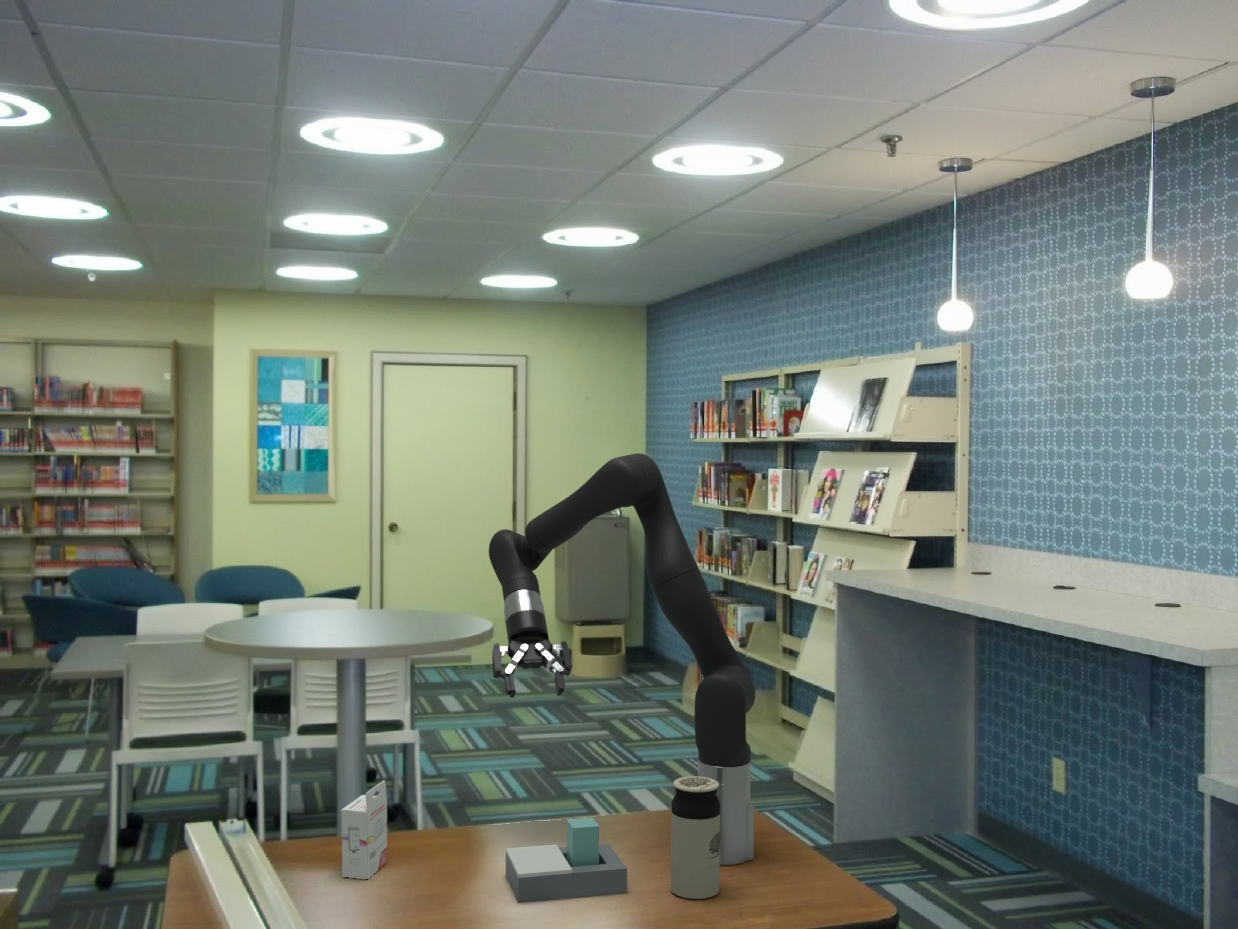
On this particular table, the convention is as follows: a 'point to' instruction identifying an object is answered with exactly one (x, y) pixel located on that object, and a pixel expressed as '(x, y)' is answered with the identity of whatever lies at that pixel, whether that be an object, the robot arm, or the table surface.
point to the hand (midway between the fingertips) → (536, 694)
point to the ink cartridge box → (365, 834)
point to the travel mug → (695, 838)
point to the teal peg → (582, 842)
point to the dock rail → (562, 874)
